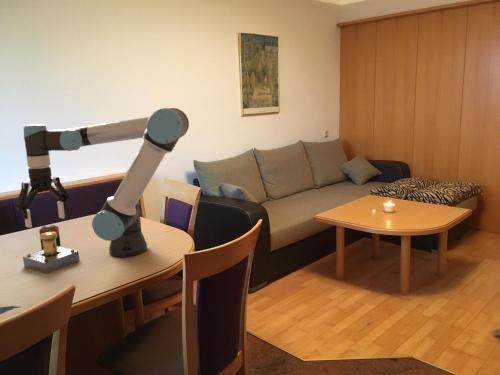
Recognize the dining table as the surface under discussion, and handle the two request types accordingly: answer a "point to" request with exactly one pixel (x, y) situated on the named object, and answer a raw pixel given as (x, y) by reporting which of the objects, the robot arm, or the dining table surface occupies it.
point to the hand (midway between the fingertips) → (46, 222)
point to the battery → (50, 229)
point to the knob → (49, 243)
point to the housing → (51, 260)
